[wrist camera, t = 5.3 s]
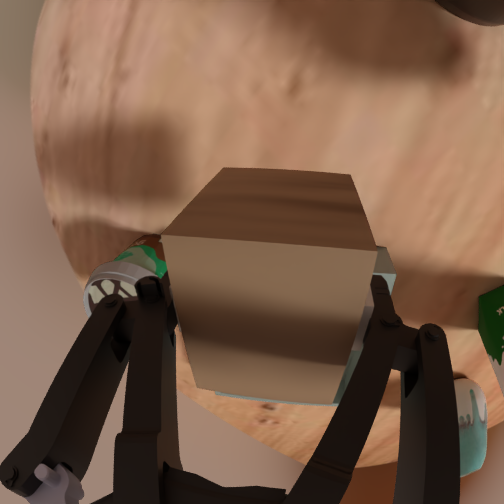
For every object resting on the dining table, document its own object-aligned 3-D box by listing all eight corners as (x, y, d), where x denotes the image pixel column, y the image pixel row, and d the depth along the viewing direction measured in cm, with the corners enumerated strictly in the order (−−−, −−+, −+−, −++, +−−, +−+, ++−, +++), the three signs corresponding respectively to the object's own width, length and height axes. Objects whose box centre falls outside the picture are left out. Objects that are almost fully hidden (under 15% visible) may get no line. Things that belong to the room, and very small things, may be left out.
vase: (472, 396, 42) (489, 472, 27) (420, 411, 46) (429, 492, 30) (483, 362, 37) (510, 450, 22) (424, 380, 41) (440, 476, 25)
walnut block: (223, 167, 17) (160, 234, 10) (350, 174, 15) (377, 251, 9) (231, 294, 21) (196, 387, 15) (331, 303, 20) (331, 404, 13)
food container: (153, 203, 32) (104, 248, 24) (193, 240, 34) (157, 296, 25) (108, 262, 38) (67, 308, 30) (141, 291, 40) (106, 343, 31)
